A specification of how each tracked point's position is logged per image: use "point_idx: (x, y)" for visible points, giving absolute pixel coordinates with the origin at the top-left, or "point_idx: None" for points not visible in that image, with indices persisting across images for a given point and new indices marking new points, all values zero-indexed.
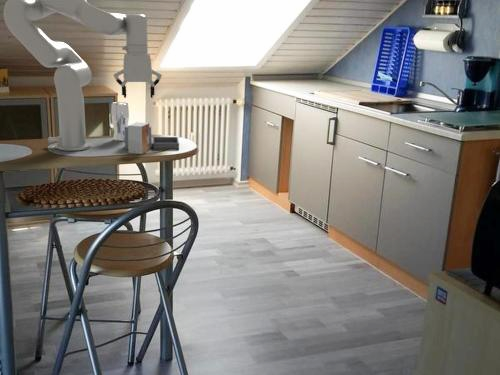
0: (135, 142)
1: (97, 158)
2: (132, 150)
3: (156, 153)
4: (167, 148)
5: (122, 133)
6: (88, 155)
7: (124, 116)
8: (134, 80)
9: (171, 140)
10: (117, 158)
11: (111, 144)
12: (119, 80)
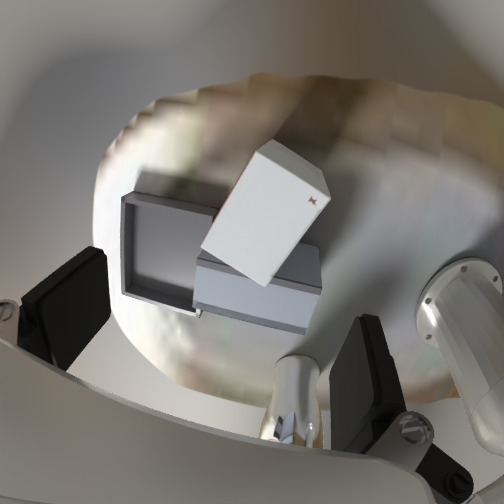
0: (295, 158)
1: (440, 126)
2: (308, 162)
3: (216, 143)
4: (167, 199)
5: (294, 373)
6: (457, 182)
7: (282, 416)
8: (219, 449)
9: (144, 291)
10: (377, 99)
11: (344, 322)
12: (445, 489)
